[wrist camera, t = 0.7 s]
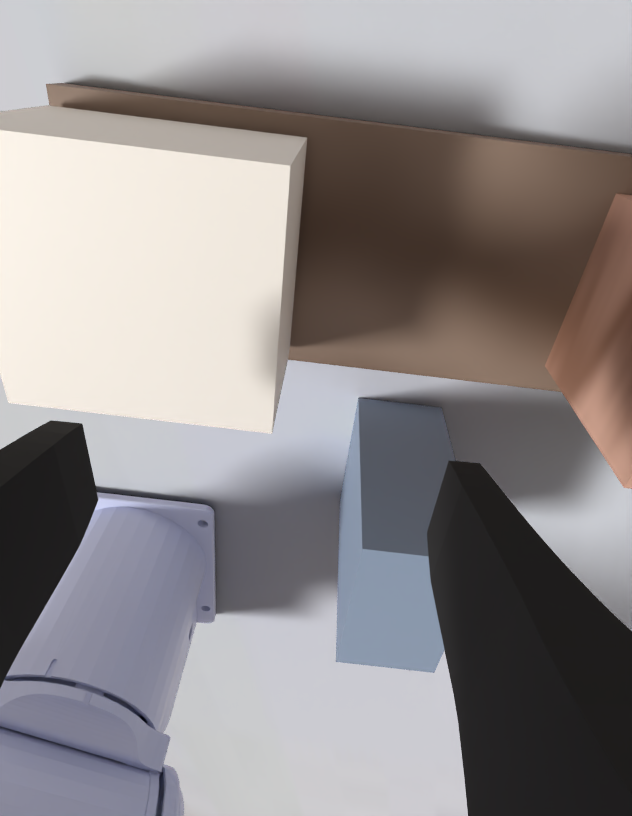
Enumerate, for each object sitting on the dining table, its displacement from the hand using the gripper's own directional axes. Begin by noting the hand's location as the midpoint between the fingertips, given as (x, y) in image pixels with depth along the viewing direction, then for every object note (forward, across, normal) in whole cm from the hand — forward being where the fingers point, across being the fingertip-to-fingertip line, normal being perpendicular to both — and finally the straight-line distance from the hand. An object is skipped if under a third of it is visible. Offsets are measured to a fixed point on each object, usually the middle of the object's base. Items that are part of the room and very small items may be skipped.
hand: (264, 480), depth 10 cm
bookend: (+9, +4, -2) cm, 10 cm away
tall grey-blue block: (+10, -4, +7) cm, 13 cm away
